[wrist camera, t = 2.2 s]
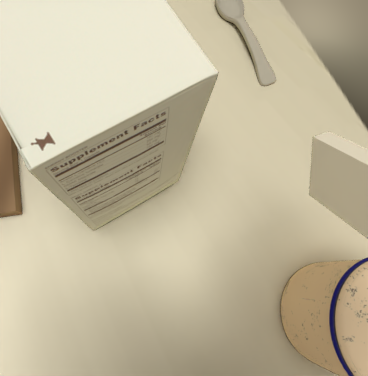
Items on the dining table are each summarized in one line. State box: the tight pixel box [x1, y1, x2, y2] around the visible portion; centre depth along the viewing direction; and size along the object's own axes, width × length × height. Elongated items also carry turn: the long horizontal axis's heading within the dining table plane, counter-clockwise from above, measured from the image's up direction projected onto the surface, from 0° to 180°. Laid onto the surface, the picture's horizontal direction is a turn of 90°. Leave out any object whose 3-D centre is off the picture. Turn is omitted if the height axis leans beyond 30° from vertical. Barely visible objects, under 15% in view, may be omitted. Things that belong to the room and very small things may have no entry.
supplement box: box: [0, 0, 219, 230], centre depth 22 cm, size 10×9×17 cm
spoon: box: [215, 0, 276, 86], centre depth 35 cm, size 3×12×2 cm, turn 24°
